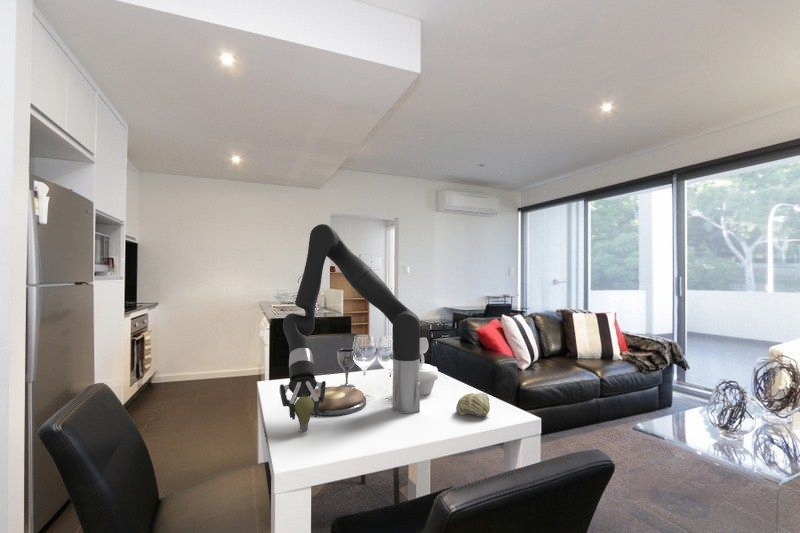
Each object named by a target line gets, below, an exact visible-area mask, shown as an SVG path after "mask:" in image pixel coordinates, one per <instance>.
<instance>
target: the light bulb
mask: <svg viewBox="0 0 800 533" xmlns="http://www.w3.org/2000/svg"><path fill="white" fill-rule="evenodd" d="M313 410H314V402H313V400H312V399H311V398H310V397H307V396H303V397H299V398H297V399H296V402H295V416H296V417H297V419H298V423H299V430H300V431H301V432H302V433H304V432H306V431H307V430H308V429H309V422H310V420H311V416H312V415H311V414H312V412H313Z"/></svg>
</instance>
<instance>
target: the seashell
mask: <svg viewBox="0 0 800 533" xmlns="http://www.w3.org/2000/svg"><path fill="white" fill-rule="evenodd" d="M490 409H491V408H490V398H489V396H488V393H482V392H478V393H471V392H470V393H467V394H465V395H463V396H462V397H460V398H459V399H458V402H457V404H456V406H455V412H456V414H457V415H458V416H462V415H463V416H464V415H466V414H471V415H474V416H475V417H476V416H477V417H485V416H487V415H488V414H489V412H490V411H491V410H490Z"/></svg>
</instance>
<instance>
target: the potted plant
mask: <svg viewBox="0 0 800 533" xmlns="http://www.w3.org/2000/svg"><path fill="white" fill-rule="evenodd" d="M431 337H433V334H431ZM435 343H436V346H437V344H438V341H437V340H435ZM429 345H430V344H429V341H428V339H427V337H420V360H421V361H420V374H419V382H420V396H427V395H429V394H431V393H432V391H433V388H434V386H435V382H436V381H437V380H438V373H439V372H438V371H439V370H438V368H437V366H433V365H431V364H428V363H425V356H424V355H425V354H426V353H427V351H428V349H430V348H429ZM433 346H435V344H434V342H433Z"/></svg>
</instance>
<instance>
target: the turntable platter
mask: <svg viewBox="0 0 800 533" xmlns="http://www.w3.org/2000/svg"><path fill="white" fill-rule="evenodd" d="M314 391H315V393H316V395H317V397H320V391H321V390H319V389H318V387H316V388H315V389H314ZM364 396H365V395H364V392H363V391H361V390H359V389H357V388H356V387H355V388H350V387H338V386H325V397H324V401H323V403H319V410H340V409H346V408H350V407H354V406H356V405H358V404H360V403H362V401H363V399H364ZM308 397H309V396H308Z"/></svg>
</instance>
